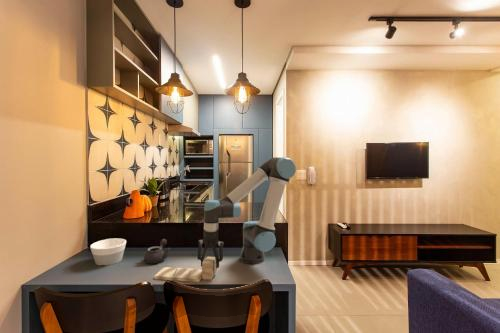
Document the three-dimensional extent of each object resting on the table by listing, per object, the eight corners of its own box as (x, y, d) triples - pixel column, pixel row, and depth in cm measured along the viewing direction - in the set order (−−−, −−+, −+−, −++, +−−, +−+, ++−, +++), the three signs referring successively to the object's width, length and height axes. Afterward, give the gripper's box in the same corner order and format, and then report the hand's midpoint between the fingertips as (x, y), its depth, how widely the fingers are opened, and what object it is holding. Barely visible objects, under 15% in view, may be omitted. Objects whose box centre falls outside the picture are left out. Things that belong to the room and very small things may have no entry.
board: (205, 272, 140) (205, 269, 140) (198, 282, 129) (198, 279, 129) (164, 269, 143) (164, 266, 143) (154, 278, 132) (154, 276, 132)
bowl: (94, 270, 142) (93, 251, 141) (87, 260, 156) (87, 242, 156) (130, 261, 155) (130, 243, 154) (121, 252, 169) (121, 236, 169)
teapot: (167, 265, 149) (166, 248, 149) (140, 265, 149) (140, 248, 149) (175, 252, 168) (175, 237, 168) (152, 253, 168) (151, 238, 167)
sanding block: (207, 271, 140) (207, 256, 140) (216, 272, 139) (216, 257, 139) (202, 279, 131) (202, 263, 131) (211, 280, 130) (211, 264, 130)
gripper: (230, 229, 137) (228, 271, 137) (196, 226, 139) (195, 268, 140) (226, 233, 129) (225, 278, 130) (191, 230, 132) (190, 274, 133)
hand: (209, 273), depth 135 cm, fingers open, 6 cm apart
